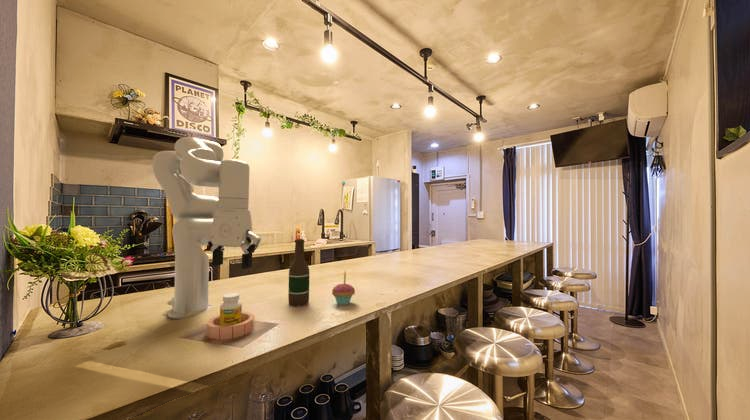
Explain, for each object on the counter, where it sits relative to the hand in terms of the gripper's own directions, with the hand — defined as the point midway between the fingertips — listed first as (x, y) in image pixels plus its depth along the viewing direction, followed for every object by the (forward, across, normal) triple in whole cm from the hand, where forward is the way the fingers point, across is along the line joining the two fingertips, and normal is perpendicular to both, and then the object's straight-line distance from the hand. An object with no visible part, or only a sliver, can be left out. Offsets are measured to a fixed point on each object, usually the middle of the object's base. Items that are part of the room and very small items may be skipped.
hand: (232, 266), depth 77 cm
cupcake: (+19, +21, +34) cm, 44 cm away
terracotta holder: (+18, +1, 0) cm, 18 cm away
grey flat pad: (+19, +1, 0) cm, 19 cm away
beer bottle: (+19, +5, +29) cm, 35 cm away
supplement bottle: (+18, 0, 0) cm, 18 cm away
